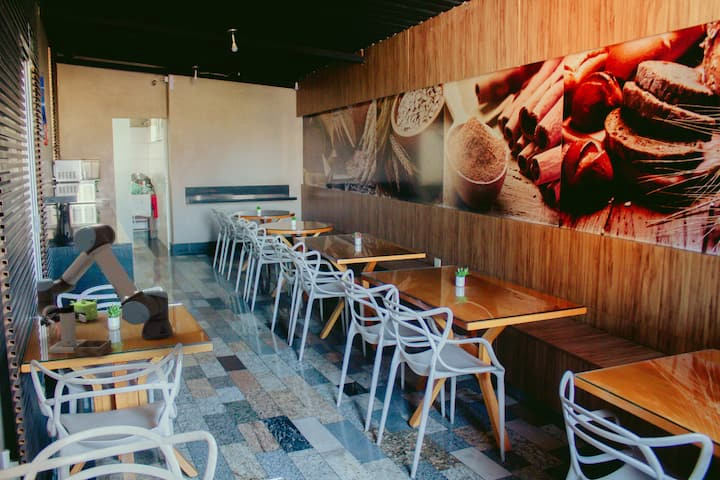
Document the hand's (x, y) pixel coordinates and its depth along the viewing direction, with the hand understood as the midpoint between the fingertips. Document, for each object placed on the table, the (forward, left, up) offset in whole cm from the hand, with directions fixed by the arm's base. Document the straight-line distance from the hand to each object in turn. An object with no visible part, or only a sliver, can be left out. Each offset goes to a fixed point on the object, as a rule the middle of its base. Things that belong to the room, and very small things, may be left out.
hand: (69, 322), depth 270 cm
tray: (+2, -2, -14) cm, 14 cm away
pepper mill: (-7, -56, -14) cm, 58 cm away
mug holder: (-11, +3, -14) cm, 18 cm away
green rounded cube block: (+18, -53, -14) cm, 58 cm away
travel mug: (+2, -3, -13) cm, 13 cm away
